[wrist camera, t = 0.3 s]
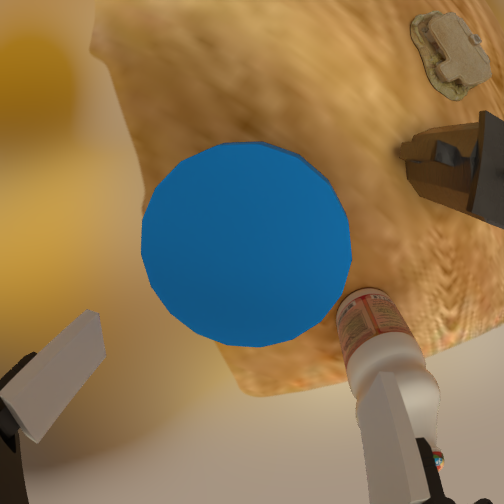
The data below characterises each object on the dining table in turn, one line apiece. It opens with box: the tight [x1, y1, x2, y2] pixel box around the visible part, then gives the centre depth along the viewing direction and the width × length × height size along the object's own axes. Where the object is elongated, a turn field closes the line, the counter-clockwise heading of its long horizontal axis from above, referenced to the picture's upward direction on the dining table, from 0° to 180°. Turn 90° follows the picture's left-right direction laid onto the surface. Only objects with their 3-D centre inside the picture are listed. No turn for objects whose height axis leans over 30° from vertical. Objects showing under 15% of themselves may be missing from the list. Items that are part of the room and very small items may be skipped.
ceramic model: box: [411, 11, 492, 101], centre depth 22 cm, size 14×11×10 cm
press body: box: [399, 110, 504, 229], centre depth 24 cm, size 10×12×17 cm
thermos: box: [141, 142, 352, 347], centre depth 25 cm, size 11×11×25 cm
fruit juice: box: [336, 288, 444, 472], centre depth 27 cm, size 9×9×28 cm
